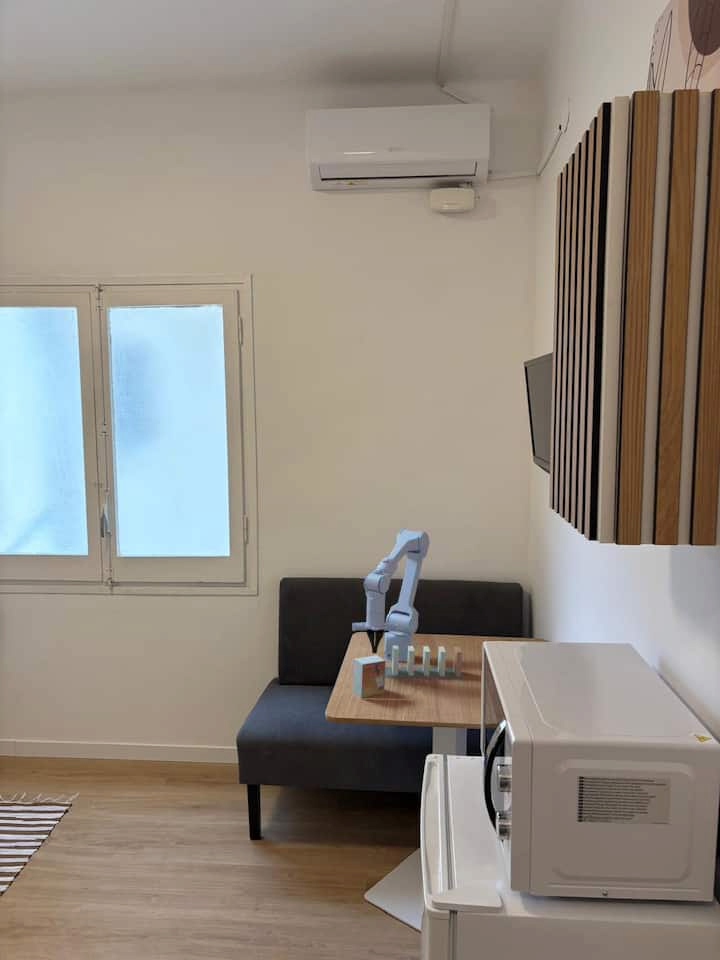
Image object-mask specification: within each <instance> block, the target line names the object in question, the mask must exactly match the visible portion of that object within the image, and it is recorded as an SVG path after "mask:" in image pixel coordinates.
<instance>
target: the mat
mask: <svg viewBox="0 0 720 960" xmlns="http://www.w3.org/2000/svg"><path fill="white" fill-rule="evenodd" d="M389 678H390V679H428V680H429V679H434V680H443V679H444V680H466V677H465V675H464V673H463V670H462V669H461V677H456V676H455V674H454V671H453V668H452V667H450V668H448V667H447V668H446V667H445V676H440V675H439V672H438V667H430V671H429V676H424V673H423V667H414V676H409V675H408V671H407V666H405V667H404V666H400V667H399V666H398V675H393V672H392V666H385V679H389Z"/></svg>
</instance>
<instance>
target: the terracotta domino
mask: <svg viewBox="0 0 720 960" xmlns="http://www.w3.org/2000/svg"><path fill="white" fill-rule="evenodd" d="M462 658H463V652H462V649H461V647H460V646H454V647H453V671H454V674H455V676H456V677H461V670H462V660H463V659H462Z"/></svg>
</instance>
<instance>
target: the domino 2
mask: <svg viewBox="0 0 720 960" xmlns="http://www.w3.org/2000/svg"><path fill="white" fill-rule="evenodd" d="M406 663H407V665H406V667H407V671H408V675H409V676H414V668H415V648H414V645H412V646H408V662H406Z"/></svg>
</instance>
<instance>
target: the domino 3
mask: <svg viewBox="0 0 720 960" xmlns="http://www.w3.org/2000/svg"><path fill="white" fill-rule="evenodd" d="M430 664H431V650H430V647H429V645H425V646H424V645H423V649H422V668H423V673H424V676H429V671H430V668H431V667H430V666H431V665H430Z"/></svg>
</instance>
